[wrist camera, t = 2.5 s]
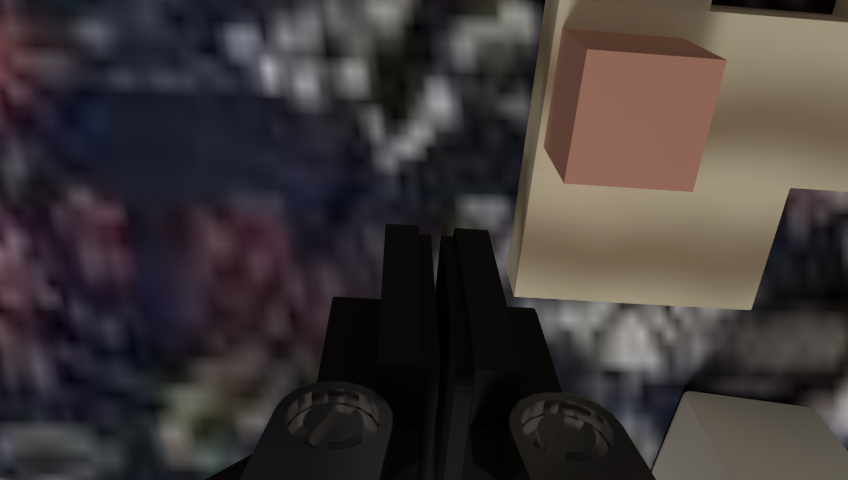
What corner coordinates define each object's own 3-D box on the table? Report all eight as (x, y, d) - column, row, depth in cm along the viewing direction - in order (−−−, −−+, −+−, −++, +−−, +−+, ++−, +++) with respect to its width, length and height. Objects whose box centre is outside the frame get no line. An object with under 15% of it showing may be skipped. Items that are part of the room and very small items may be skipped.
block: (562, 28, 26) (587, 49, 22) (682, 37, 26) (727, 60, 23) (543, 147, 28) (564, 183, 24) (656, 154, 28) (693, 192, 25)
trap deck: (571, -179, 25) (612, -198, 20) (1179, -122, 27) (1355, -126, 22) (506, 269, 33) (524, 335, 28) (981, 297, 34) (1078, 364, 29)
